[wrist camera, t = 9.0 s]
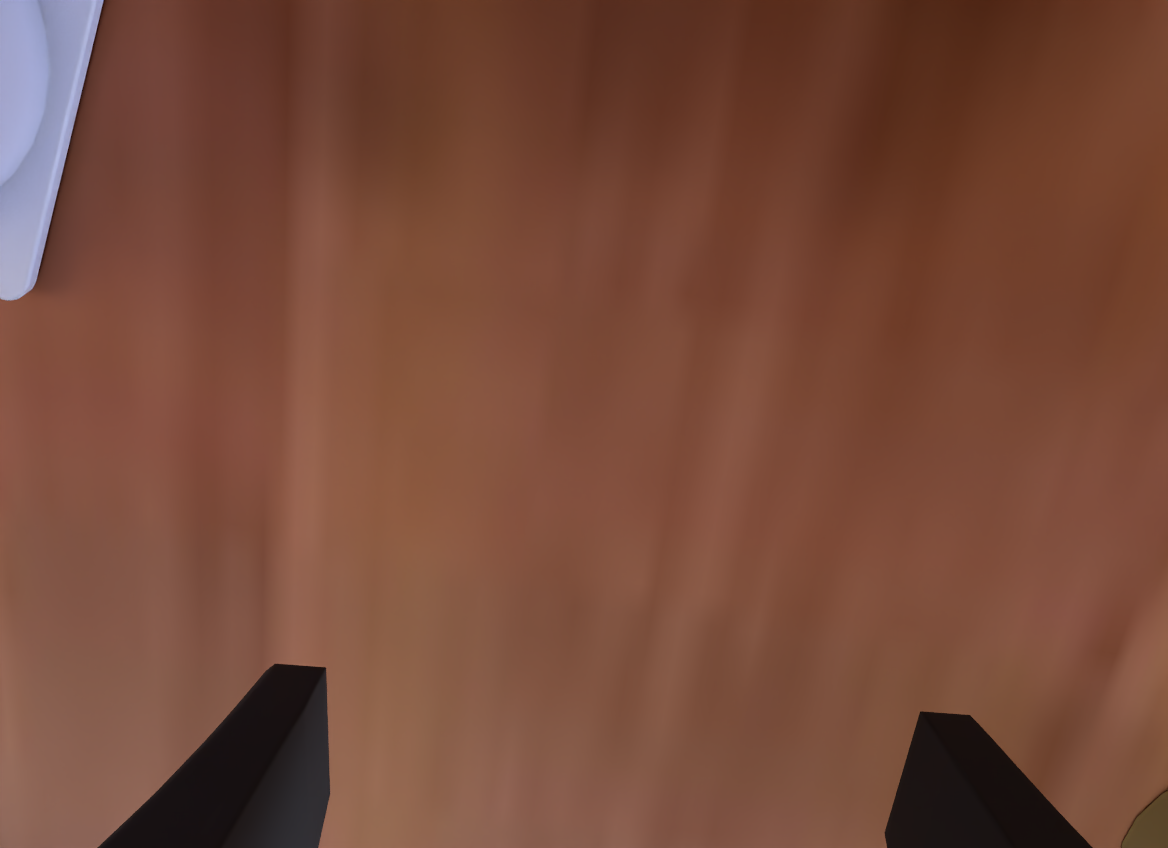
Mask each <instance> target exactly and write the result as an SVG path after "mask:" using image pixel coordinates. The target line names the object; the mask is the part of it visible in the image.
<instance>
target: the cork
mask: <svg viewBox="0 0 1168 848" xmlns="http://www.w3.org/2000/svg"><path fill="white" fill-rule="evenodd" d="M1122 848H1168V791H1166V792H1165V793H1163V794H1161V795H1160V796H1159V797H1158V798H1157V799H1156V800H1155V801H1154V802H1153V803H1152V804H1151V805H1150V806H1149V807H1147V808H1146V809H1145V810H1144V811H1143V812H1142V813H1141V814H1140V815H1139V816H1138V817H1137V818H1136V820H1135V821H1134V823H1133V825H1132V827H1131V828H1130V830H1129V832H1128V834H1127V835H1126V837H1125V839H1124V841H1123V842H1122Z"/></svg>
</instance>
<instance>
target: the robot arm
mask: <svg viewBox="0 0 1168 848" xmlns="http://www.w3.org/2000/svg"><path fill="white" fill-rule="evenodd" d="M103 1H104V0H0V299H3V300H8V301H9V300H16V299H19V298H20V297H22V296H23V295H25V294H26V293H28V292H29V291H30V290H32V289H33V287H34V285H35V283H36V280H37V276H38V272H39V268H40V263H41V259H42V255H43V251H44V247H45V243H46V238H47V234H48V230H49V226H50V222H51V218H52V213H53V209H54V205H55V201H56V197H57V193H58V188H59V184H60V180H61V176H62V172H63V168H64V163H65V159H66V155H67V151H68V147H69V143H70V138H71V134H72V130H73V126H74V122H75V118H76V113H77V109H78V105H79V101H80V97H81V93H82V89H83V84H84V80H85V76H86V72H87V68H88V64H89V59H90V55H91V51H92V47H93V43H94V39H95V34H96V30H97V26H98V22H99V18H100V14H101V9H102V5H103ZM329 796H330V778H329V747H328V715H327V683H326V668H325V667H311V666H298V665H284V664H274V665H273V666H272V667H270V668H269V669H268V670H266V671H265V673H264V674H263V675H262V676H261V677H260V679H259V680H258V681H257V682H256V683H255V685H254V686H253V687H252V688H251V689H250V691H249V692H248V693H247V694H246V695H245V696H244V698H243V699H242V700H241V701H240V702H239V703H238V705H237V706H236V707H235V708H234V709H233V710H232V711H231V713H230V714H229V715H228V716H227V717H226V718H225V719H224V721H223V722H222V723H221V724H220V725H219V726H218V727H217V728H216V729H215V731H214V732H213V733H212V734H211V735H210V736H209V737H208V738H207V739H206V741H205V742H204V743H203V744H202V745H201V746H200V747H199V748H198V749H197V750H196V751H195V752H194V753H193V754H192V755H191V756H190V757H189V758H188V760H187V761H186V762H185V763H184V764H183V765H182V766H181V767H180V768H179V769H178V770H177V771H176V772H175V773H174V774H173V775H172V776H171V777H170V778H169V779H168V780H167V782H166V783H165V784H164V785H163V786H162V787H161V788H160V789H159V790H158V791H157V792H156V793H155V794H154V795H153V796H152V797H151V798H150V799H149V800H148V801H147V802H145V803H144V804H143V805H142V806H141V807H140V808H139V809H138V810H137V811H136V812H135V813H134V814H133V815H132V816H131V817H130V818H129V819H128V820H126V821H125V822H124V823H123V824H122V825H121V826H120V827H119V828H118V829H117V830H116V831H115V832H114V833H113V834H112V835H111V836H110V837H108V838H107V839H106V840H105V841H104V842H103V843H102V844H101V845H100V846H99V847H98V848H318V845H319V841H320V837H321V832H322V828H323V823H324V819H325V814H326V809H327V805H328V800H329ZM885 838H886V843H887V848H1092V847H1091V846H1090V845H1089V844H1088V842H1087V841H1086V840H1085V839H1084V838H1083V837H1082V836H1081V835H1080V834H1079V833H1078V832H1077V831H1076V830H1075V829H1074V828H1073V827H1072V826H1071V825H1070V824H1069V822H1068V821H1067V820H1066V819H1065V818H1064V817H1063V816H1062V815H1061V814H1060V813H1059V812H1058V811H1057V810H1056V809H1055V807H1054V806H1053V805H1052V804H1051V803H1050V802H1049V801H1048V800H1047V799H1046V798H1045V797H1044V795H1043V794H1042V793H1041V792H1040V791H1039V790H1038V789H1037V788H1036V787H1035V786H1034V785H1033V783H1032V782H1031V781H1030V780H1029V779H1028V778H1027V777H1026V776H1025V775H1024V774H1023V772H1022V771H1021V770H1020V769H1019V768H1018V767H1017V766H1016V765H1015V764H1014V762H1013V761H1012V760H1011V759H1010V758H1009V757H1008V756H1007V755H1006V754H1005V753H1004V751H1003V750H1002V749H1001V748H1000V747H999V746H998V745H997V744H996V743H995V741H994V740H993V739H992V738H991V737H990V736H989V735H988V734H987V733H986V732H985V731H984V729H983V728H982V727H981V726H980V725H979V724H978V723H977V722H976V721H975V720H974V719H973V718H972V717H971V716H970V715H961V714H947V713H934V712H920V714H919V718H918V721H917V725H916V728H915V731H914V735H913V738H912V742H911V745H910V748H909V752H908V755H907V759H906V762H905V765H904V769H903V772H902V776H901V779H900V783H899V786H898V789H897V793H896V796H895V800H894V803H893V806H892V810H891V813H890V817H889V820H888V823H887V827H886V830H885Z"/></svg>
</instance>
